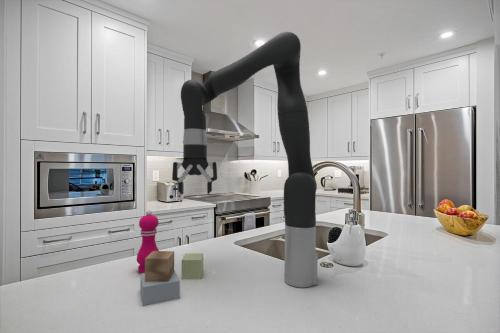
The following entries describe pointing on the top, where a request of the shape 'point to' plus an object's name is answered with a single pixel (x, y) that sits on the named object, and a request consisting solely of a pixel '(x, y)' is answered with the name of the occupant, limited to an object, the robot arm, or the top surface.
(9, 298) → the top surface
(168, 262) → the walnut block
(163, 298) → the slate base block
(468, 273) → the top surface
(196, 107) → the robot arm
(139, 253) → the pepper mill
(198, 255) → the olive block
